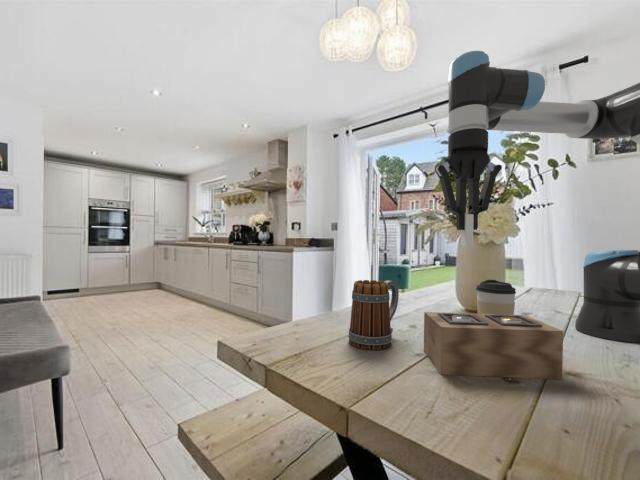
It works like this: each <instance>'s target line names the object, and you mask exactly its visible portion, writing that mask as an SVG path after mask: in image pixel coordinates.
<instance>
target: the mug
mask: <svg viewBox="0 0 640 480" xmlns="http://www.w3.org/2000/svg"><path fill="white" fill-rule="evenodd" d="M389 287H390V290H391V300H390V292H389ZM399 292H400V291H399V287H398V285H397V283H396V282H395V281H393V280H384V281H382V280H374V279H372V280H369V279H363V280H361V279H359V280H355V281H354V283H353V289H352V291H351V299H352V300H351V301H352V302H351V314H350V323H349V329H348V342H349V343H350V344H351V345H352V346H354V347H356V348H357V349H360V350H365V351H379V350H380V351H381V350H386V349H388V348H389V347H391V345H392V340H393V337H392V336H393V335H392V334H393V331H394V328H393V327H391V322H392V319H393V317H394V315H395V314H396V311H397V308H398V303H399V298H400V297H399V295H400V293H399Z"/></svg>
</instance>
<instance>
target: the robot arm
mask: <svg viewBox="0 0 640 480" xmlns="http://www.w3.org/2000/svg"><path fill="white" fill-rule="evenodd" d="M490 64H491V63H490V58H489V55H488V54H487V53H486V52H485V51H482V50H471V51H467V52H463V53H462V54H459V55H458V56H457V57H456V58H455V59H454V60H452V62H451V63H450V66H449V72H448V82H447V86H448V134H449V136H448V138H447V139H448V142H447V145H448V147H447V151H448V152H447V153H448V155H447V157H446V158H445V159H446V160H445V162H444V163H443V164H440V165H438V166H437V167H436V168H435V169H434V172H435V174H436V175H437V177H438V178H439V181H440V185H441V190H442V193H443V198H444V202H445V206H446V207H445V208H446V211H447V212H449V213H453V214H454V215H455V216H456V220H455V221H456V223H455V224H456V225H455V226H456V227H455V228H456V231H460V246H461V247H474V231H477V230H478V228H479V227H478V226H479V214H480V213H483V212H487V211H488V209H489V206H490V202H491V199H492V195H493V191H494V186H495V182H496V179H497V176H498V174H499V173H500V172H501V170H502V165H501V164H496V163H494V162H492V161H491V157H490V155H489V153H488V150H489V131H499V132H500V131H502V132H503V131H504V132H521V133H523V132H525V133H543V134H544V133H545V134H565V136H566V137H569V138H571V139H588V140H589V139H590V140H592V139H593V140H600V139H601V140H604V139H605V140H606V139H610V140H611V139H619V138H625V137H630V140H631V141H632V142H634V143H636V144H638V145H639V146H640V82H638V83H635V84H634V85H631V86H629V87H626V88H624V89H621V90H619V91H617V92H613V93H612V94H608V95H606V96H604V97H600V98H596V99H582V100H580V101H577V102H575V103H572V102H559V101H558V102H557V101H556V102H555V101H541V100H542V98H543V96H544V93H545V91H546V79H545V77H544V76H543V74H541V73H540V72H534V71H531V70H530V71H529V70H527V69H514V68H513V69H512V68H501V67H499V68H498V67H495V66H490ZM484 170H485V173H486V175H485V176H484V178H483V179H484V180H483V183H482V187H481V192H480V181H481V174H482V172H483V171H484ZM450 171H451V173H452V174H453V175H454V183H455V192H454V189H453V185H452V181H451V176H450V173H449V172H450ZM467 184H468V185H467ZM467 187H468V188H467ZM467 189H468V191H467ZM467 192H468V195H467ZM467 198H468V199H467ZM467 203H468V204H467ZM466 213H467V214H466ZM583 263H584V264H583V304H582V305H581V308H580V310H579V312H578V316H577V317H576V319H575V321H574V322H575V325H574V326H575V327H574V328H575V329H576V331H578V332H581V333H583V334H586V335H589V336H593V337H596V338H602V339H604V340H605V339H606V340H612V341H617V342H627V343H628V342H629V343H640V248H639V249H621V250H620V249H619V250H617V249H616V250H604V251H603V250H602V251H594V252H593V251H592V252H589V253H587V254H586V255H585V256H584V262H583Z"/></svg>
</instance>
